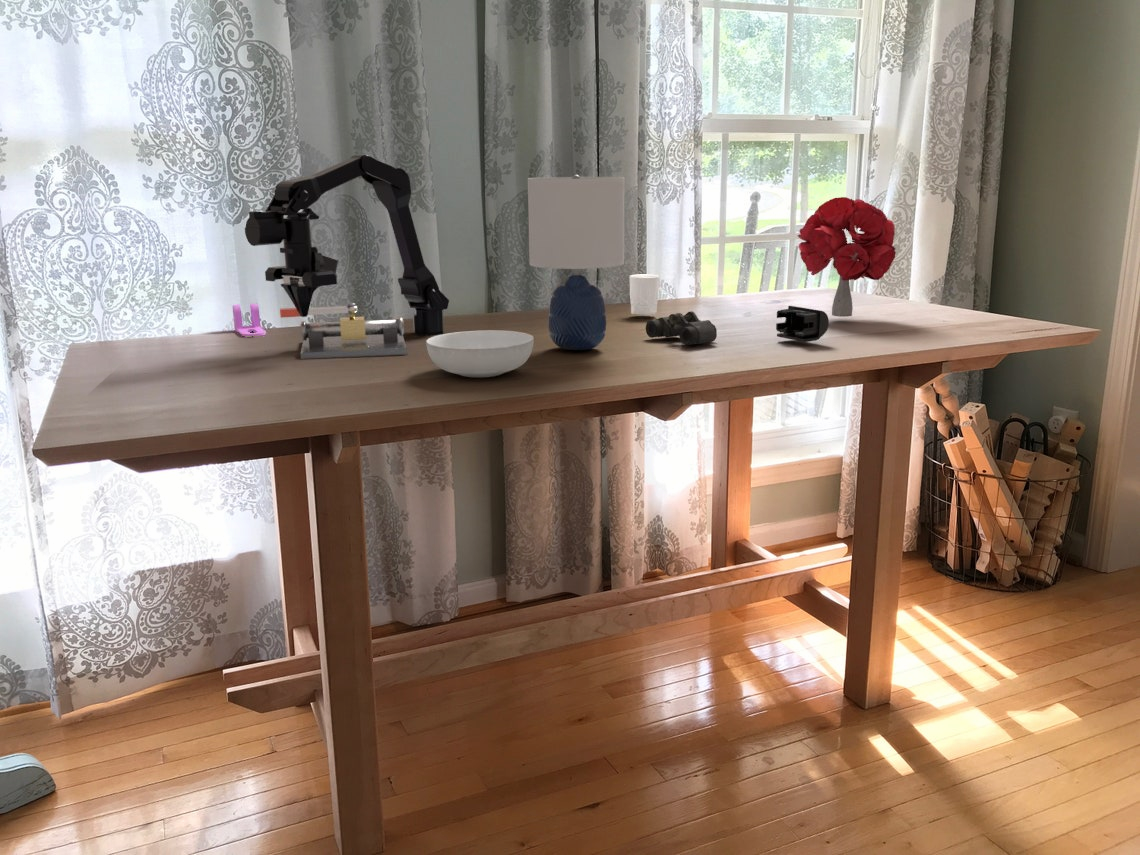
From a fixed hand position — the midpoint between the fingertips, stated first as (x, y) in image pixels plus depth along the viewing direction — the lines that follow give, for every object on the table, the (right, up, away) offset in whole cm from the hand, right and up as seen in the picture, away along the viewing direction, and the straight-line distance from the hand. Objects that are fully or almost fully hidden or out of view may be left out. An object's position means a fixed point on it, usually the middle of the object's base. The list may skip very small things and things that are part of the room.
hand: (304, 316), depth 207 cm
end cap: (+110, -3, +16) cm, 111 cm away
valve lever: (+2, +1, +3) cm, 4 cm away
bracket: (-20, -2, +26) cm, 33 cm away
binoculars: (+83, -3, +17) cm, 85 cm away
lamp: (+58, -6, +6) cm, 59 cm away
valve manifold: (+9, -6, +8) cm, 13 cm away
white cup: (+77, +7, +52) cm, 93 cm away
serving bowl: (+39, -13, -17) cm, 45 cm away
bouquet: (+128, +5, +45) cm, 136 cm away
